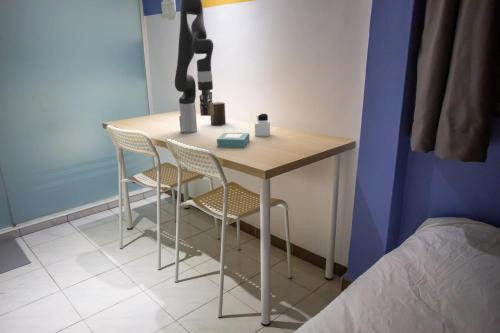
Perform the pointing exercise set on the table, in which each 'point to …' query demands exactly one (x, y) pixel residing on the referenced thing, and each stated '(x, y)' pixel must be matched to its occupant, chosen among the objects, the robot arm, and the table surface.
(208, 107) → the walnut block
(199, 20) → the robot arm
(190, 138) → the table surface
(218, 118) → the pillar candle
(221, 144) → the teal base
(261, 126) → the medicine bottle
